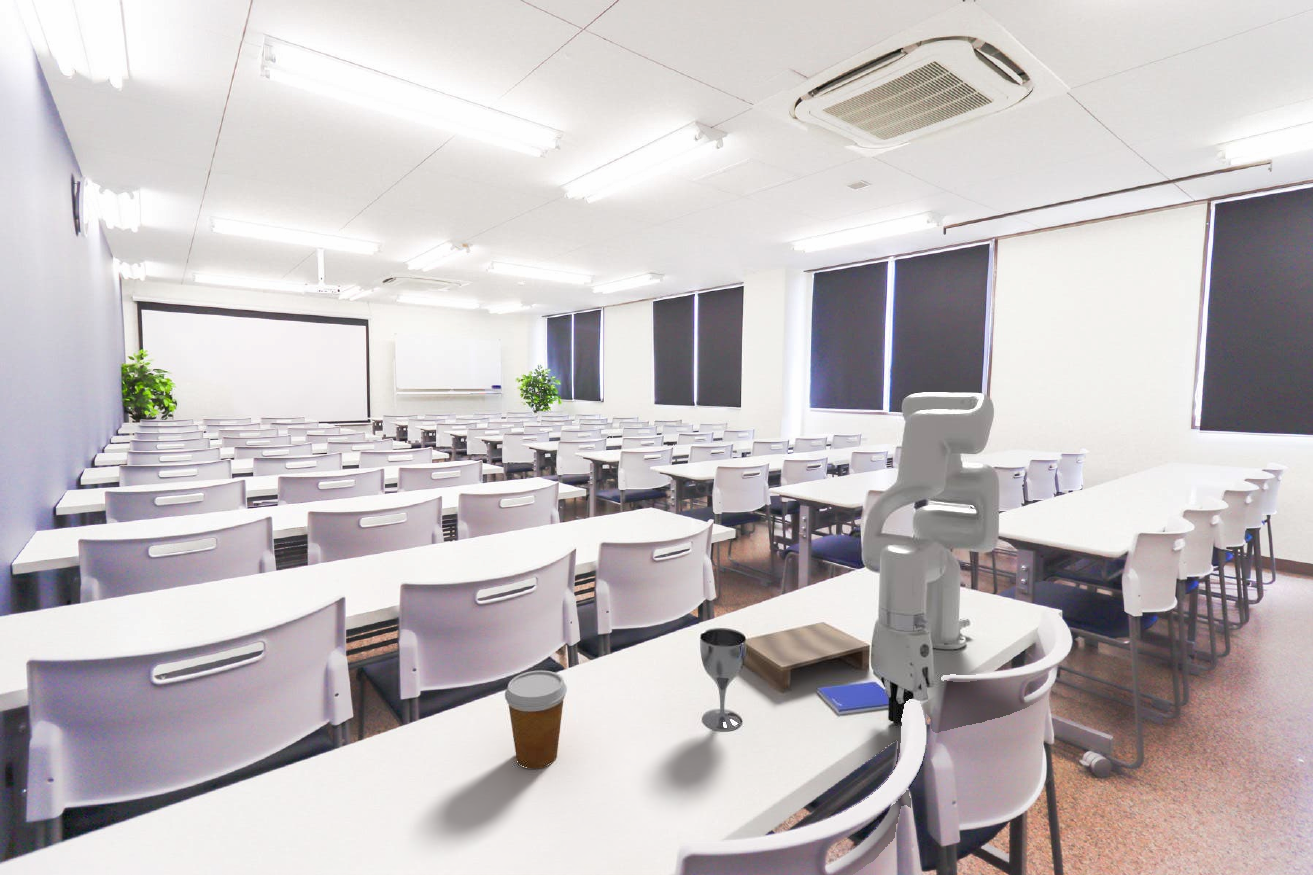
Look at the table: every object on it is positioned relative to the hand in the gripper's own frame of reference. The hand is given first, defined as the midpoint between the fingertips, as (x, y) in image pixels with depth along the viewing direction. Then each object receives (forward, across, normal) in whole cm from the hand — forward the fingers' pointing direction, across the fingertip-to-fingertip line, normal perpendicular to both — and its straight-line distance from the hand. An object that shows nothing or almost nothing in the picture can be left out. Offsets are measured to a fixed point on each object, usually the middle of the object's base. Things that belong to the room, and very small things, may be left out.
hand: (898, 720), depth 102 cm
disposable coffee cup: (+1, +18, +59) cm, 62 cm away
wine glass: (+1, +14, +27) cm, 31 cm away
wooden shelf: (0, +24, 0) cm, 25 cm away
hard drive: (+1, +9, 0) cm, 9 cm away
